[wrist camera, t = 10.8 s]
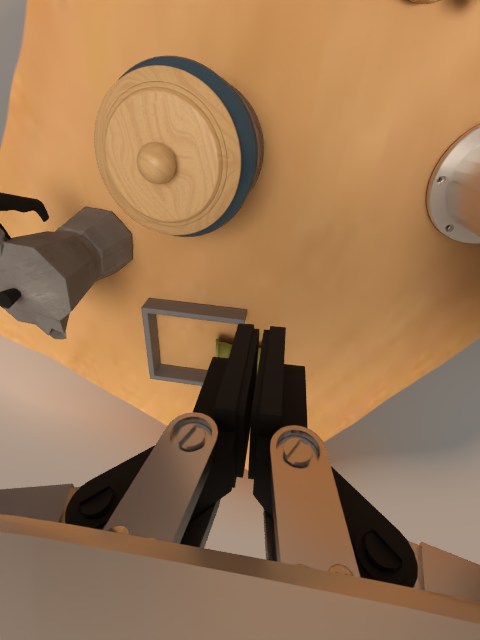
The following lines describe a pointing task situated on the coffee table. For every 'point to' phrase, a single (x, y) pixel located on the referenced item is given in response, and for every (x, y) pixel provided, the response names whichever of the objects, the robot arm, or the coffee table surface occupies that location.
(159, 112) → the canister
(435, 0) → the ashtray
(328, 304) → the coffee table surface
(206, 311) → the bay
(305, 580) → the robot arm
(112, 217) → the coffeepot
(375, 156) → the coffee table surface
